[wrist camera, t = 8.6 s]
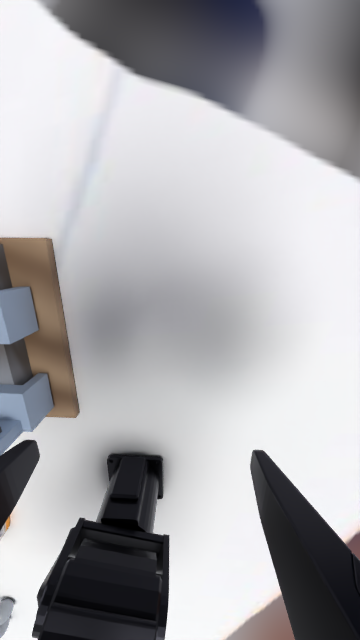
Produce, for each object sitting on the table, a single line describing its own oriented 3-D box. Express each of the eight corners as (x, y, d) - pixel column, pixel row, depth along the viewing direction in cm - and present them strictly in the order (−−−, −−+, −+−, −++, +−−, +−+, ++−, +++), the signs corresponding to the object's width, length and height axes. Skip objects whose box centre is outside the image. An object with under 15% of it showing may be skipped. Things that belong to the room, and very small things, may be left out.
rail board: (79, 412, 23) (64, 434, 20) (0, 409, 23) (-26, 431, 20) (51, 239, 18) (24, 235, 15) (-51, 237, 18) (-96, 234, 15)
